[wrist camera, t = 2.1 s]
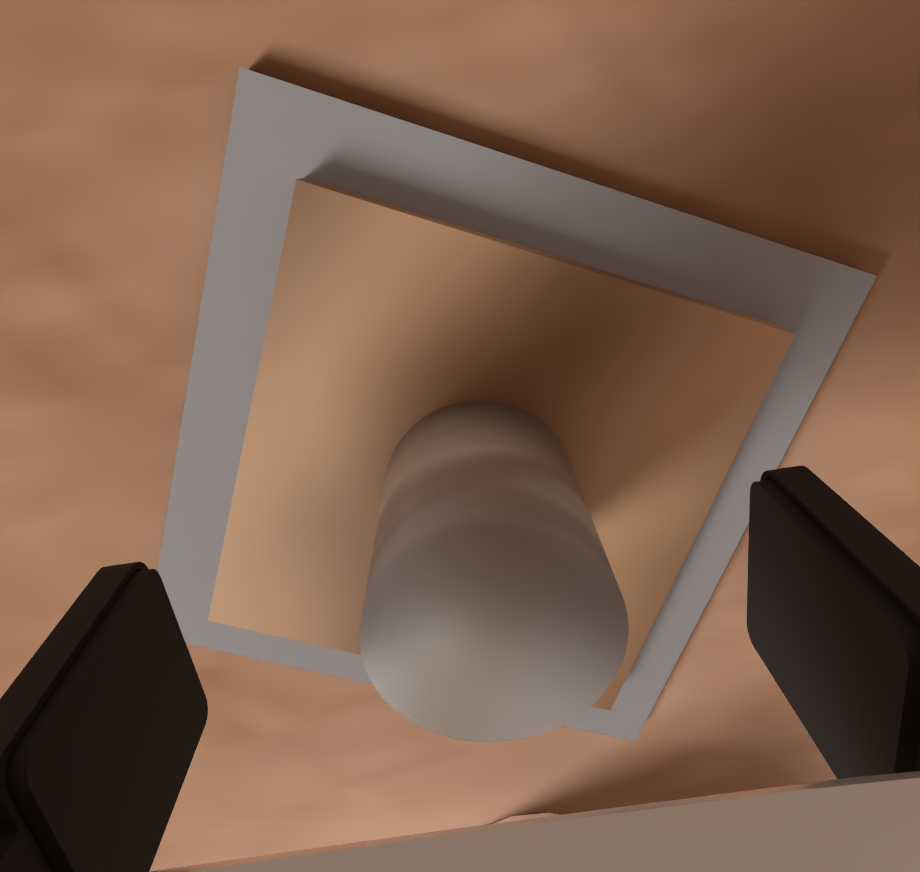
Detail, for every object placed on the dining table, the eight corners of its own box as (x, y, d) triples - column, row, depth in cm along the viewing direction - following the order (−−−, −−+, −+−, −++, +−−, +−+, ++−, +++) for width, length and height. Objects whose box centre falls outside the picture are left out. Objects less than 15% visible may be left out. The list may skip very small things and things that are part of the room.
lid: (777, 324, 15) (970, 429, 9) (603, 688, 18) (669, 914, 13) (304, 177, 13) (210, 200, 8) (218, 600, 17) (113, 809, 12)
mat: (863, 271, 15) (877, 275, 14) (630, 727, 19) (635, 741, 19) (247, 69, 13) (239, 66, 13) (154, 622, 18) (146, 634, 17)
